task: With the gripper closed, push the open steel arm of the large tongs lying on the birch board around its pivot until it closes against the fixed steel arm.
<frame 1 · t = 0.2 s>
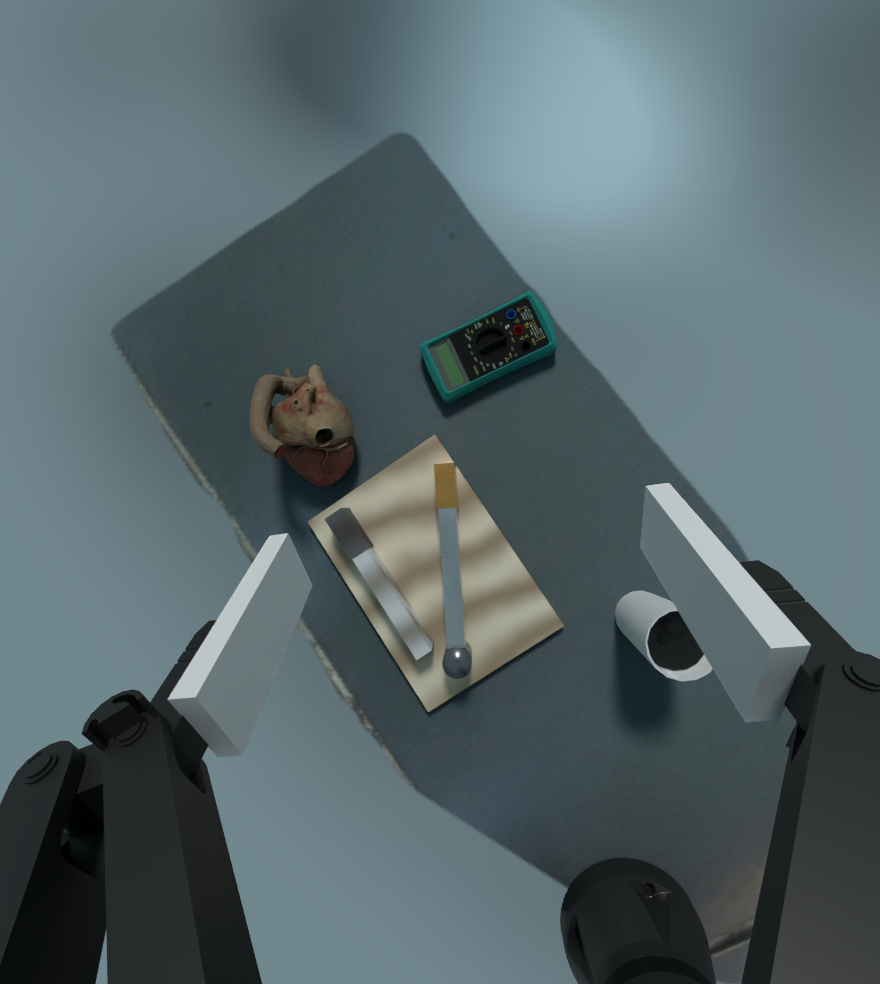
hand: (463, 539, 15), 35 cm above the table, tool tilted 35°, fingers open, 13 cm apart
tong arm: (451, 567, 47), point 3 cm above the table, hinge at -30.0°
anatomical model: (324, 426, 52), on the table
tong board: (432, 570, 50), on the table
digital multimeter: (487, 353, 51), on the table
white coffee cup: (639, 615, 48), on the table
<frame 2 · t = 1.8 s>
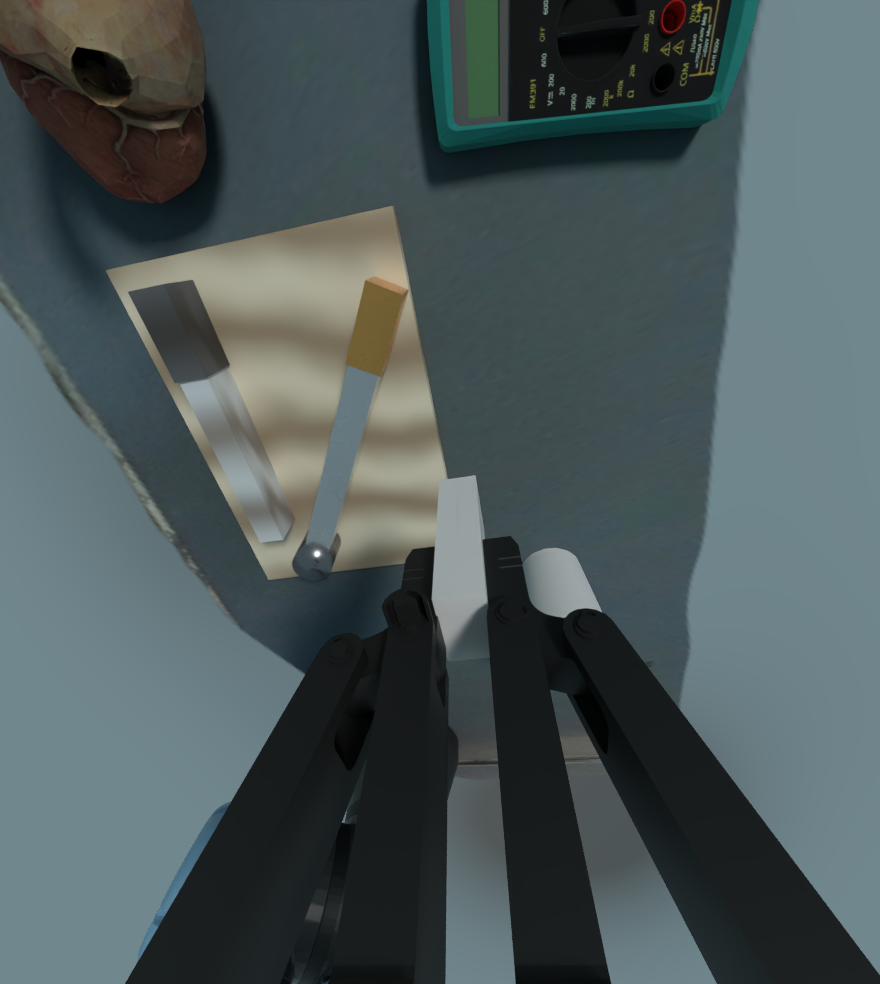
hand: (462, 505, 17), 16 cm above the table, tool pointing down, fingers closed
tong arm: (343, 452, 31), point 3 cm above the table, hinge at -30.0°
anatomical model: (148, 33, 22), on the table
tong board: (318, 433, 33), on the table
digital multimeter: (572, 51, 22), on the table
white coffee cup: (549, 569, 40), on the table
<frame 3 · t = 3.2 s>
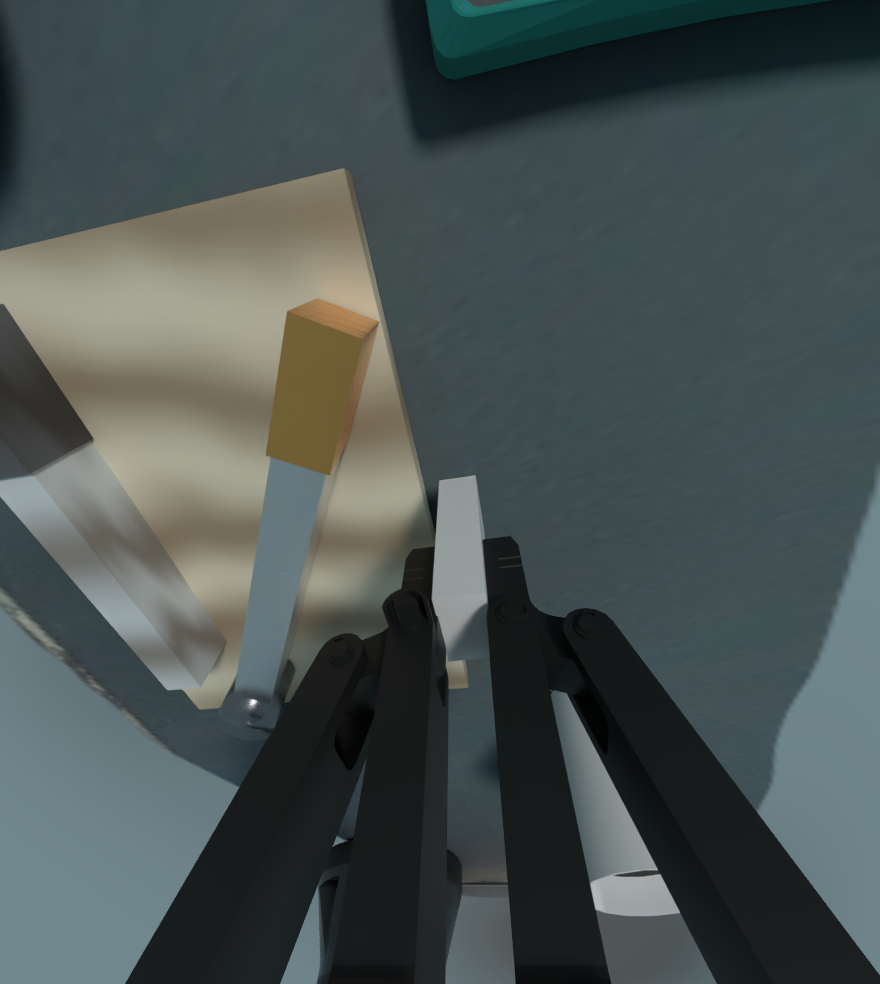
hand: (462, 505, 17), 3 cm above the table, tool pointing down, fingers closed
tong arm: (283, 573, 19), point 3 cm above the table, hinge at -30.0°
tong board: (252, 530, 22), on the table
white coffee cup: (590, 696, 29), on the table
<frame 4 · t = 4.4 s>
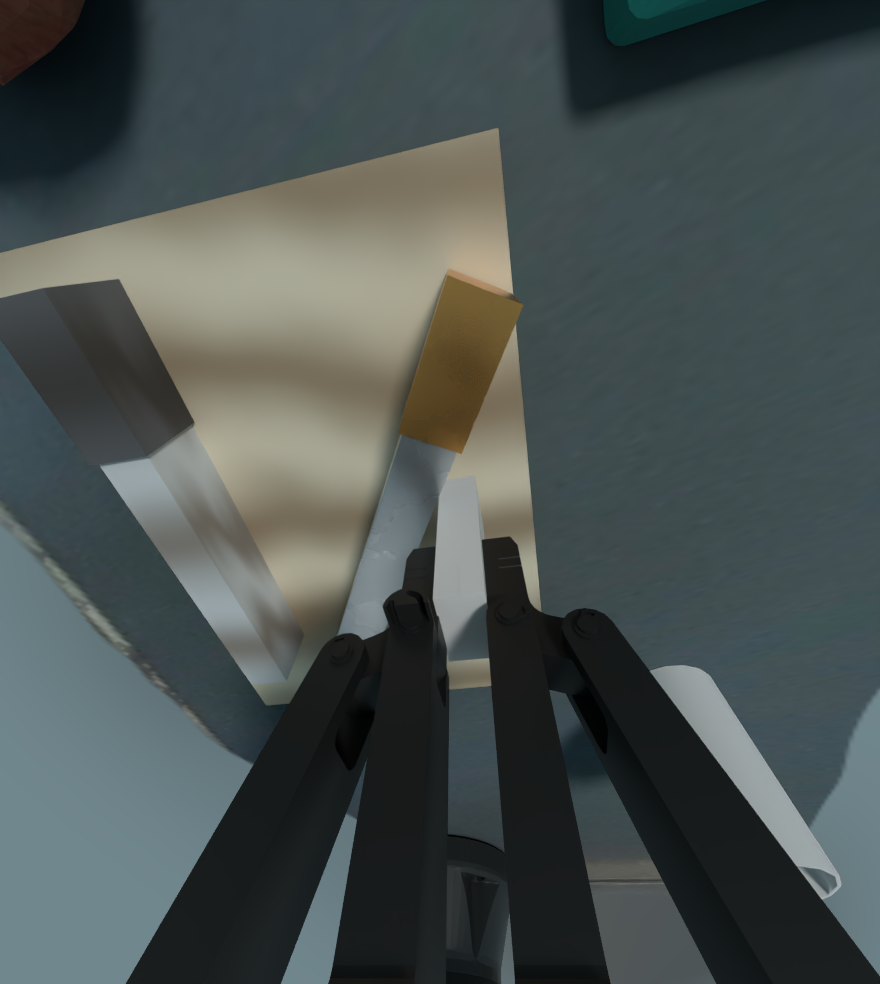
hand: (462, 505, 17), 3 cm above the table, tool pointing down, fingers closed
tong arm: (384, 561, 19), point 3 cm above the table, hinge at -29.7°, touching gripper
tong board: (341, 519, 21), on the table
white coffee cup: (666, 689, 28), on the table
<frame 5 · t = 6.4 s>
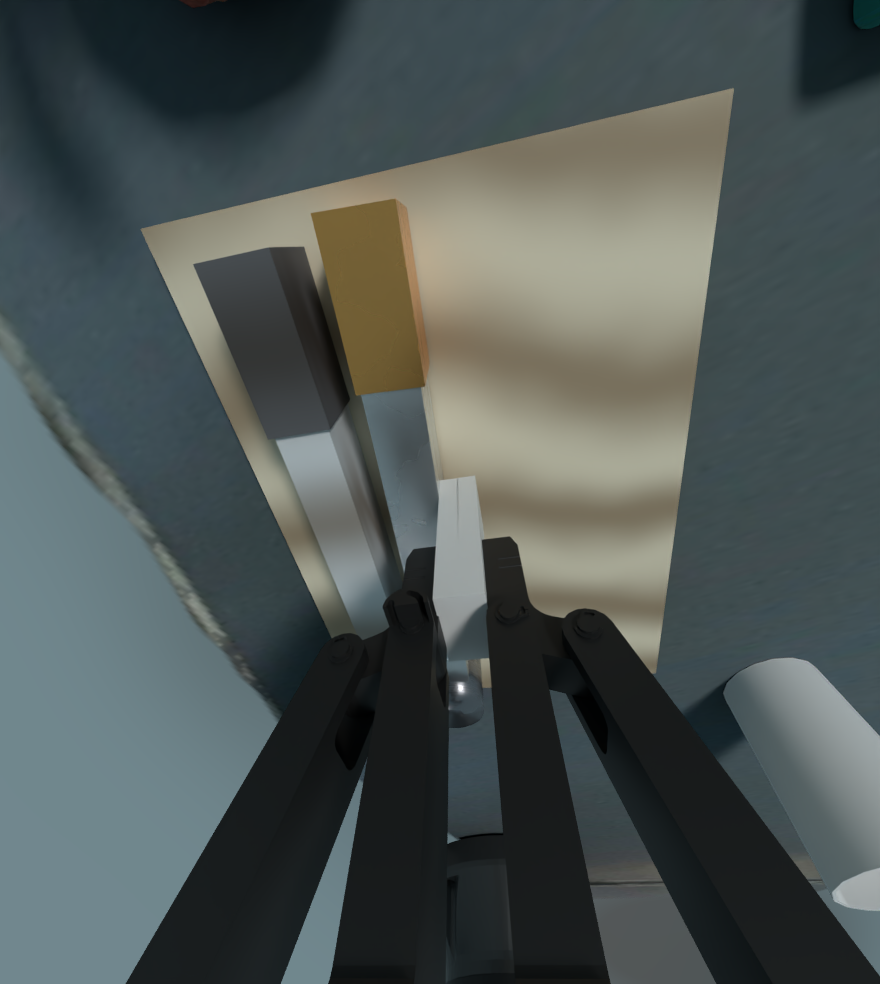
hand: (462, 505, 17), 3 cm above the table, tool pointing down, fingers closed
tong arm: (425, 534, 18), point 3 cm above the table, hinge at -2.5°, touching gripper
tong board: (471, 503, 21), on the table
white coffee cup: (767, 683, 28), on the table
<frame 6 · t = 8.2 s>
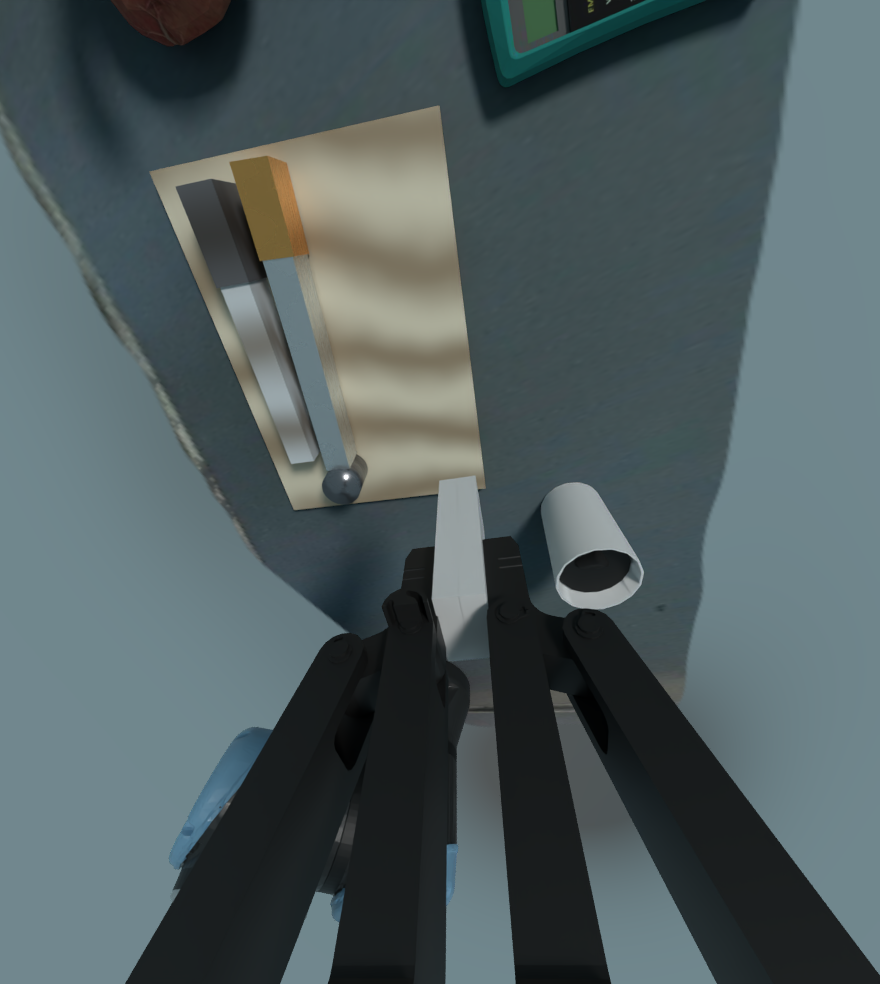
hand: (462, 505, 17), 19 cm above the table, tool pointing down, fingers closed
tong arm: (313, 361, 31), point 3 cm above the table, hinge at -2.5°
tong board: (351, 355, 34), on the table
white coffee cup: (569, 506, 41), on the table
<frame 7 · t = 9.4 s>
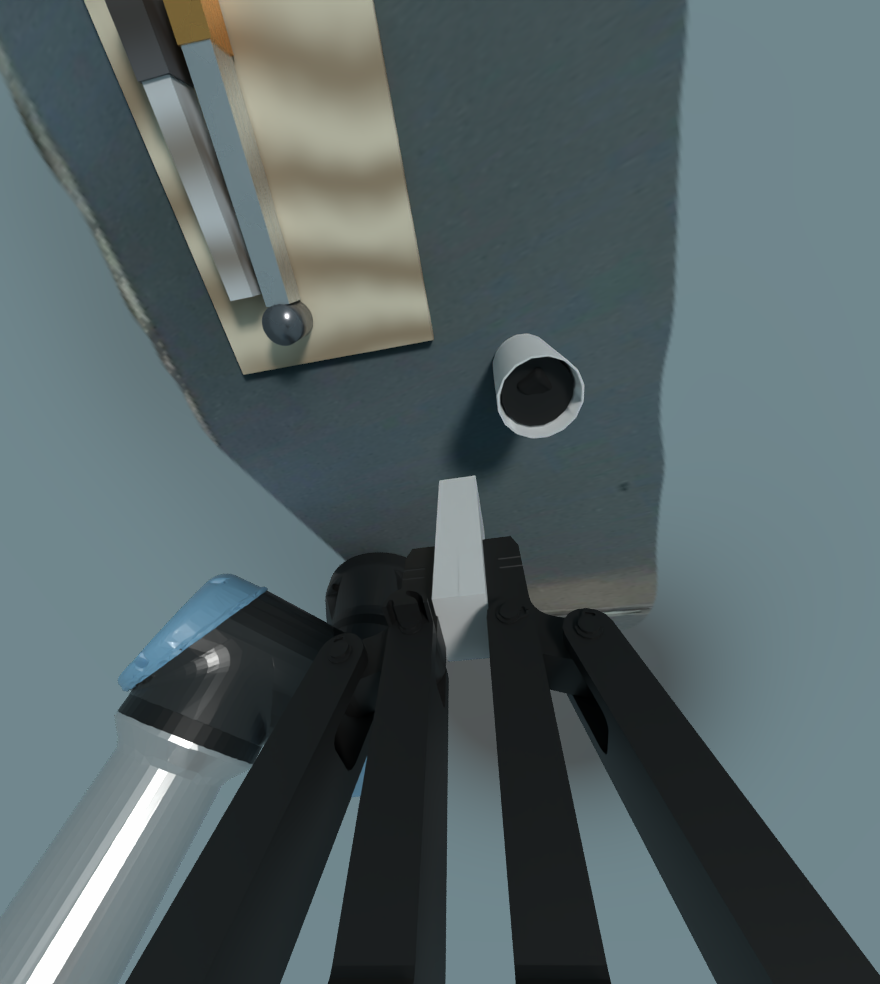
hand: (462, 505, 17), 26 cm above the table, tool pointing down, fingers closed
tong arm: (244, 177, 31), point 3 cm above the table, hinge at -2.5°
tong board: (287, 186, 33), on the table
white coffee cup: (521, 364, 40), on the table
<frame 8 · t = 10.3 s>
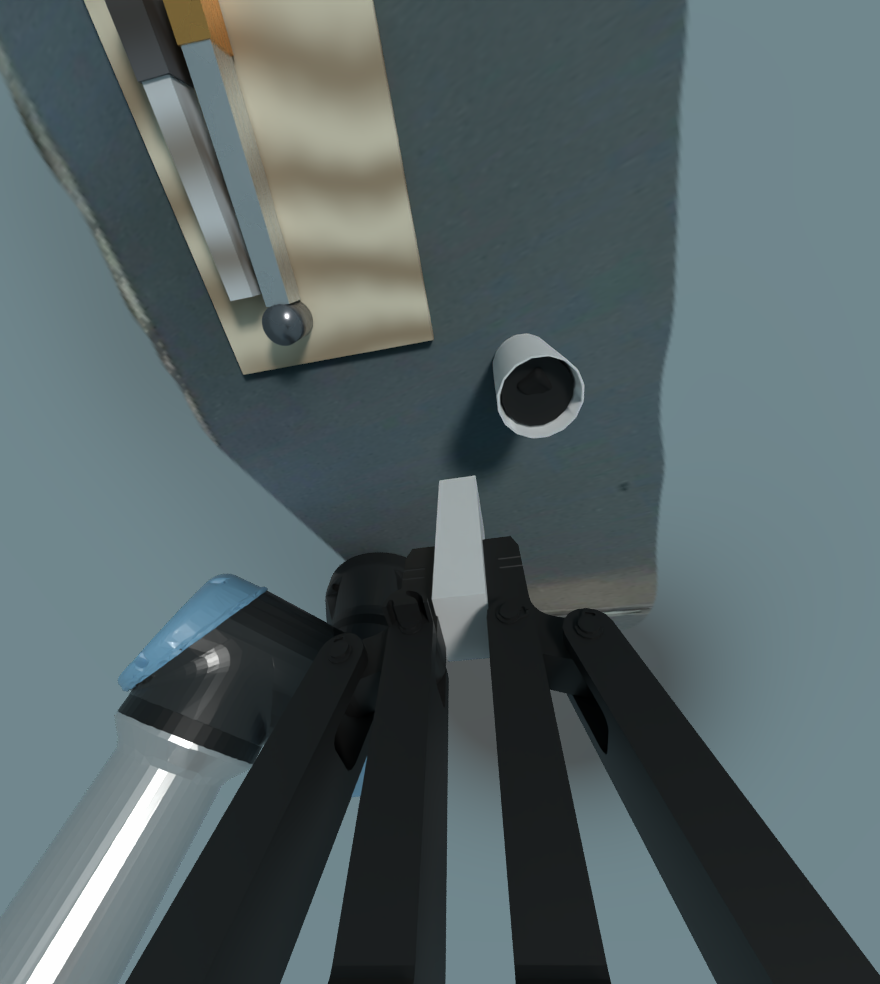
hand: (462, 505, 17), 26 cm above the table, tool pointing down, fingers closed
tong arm: (244, 177, 31), point 3 cm above the table, hinge at -2.5°
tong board: (287, 186, 33), on the table
white coffee cup: (521, 364, 40), on the table
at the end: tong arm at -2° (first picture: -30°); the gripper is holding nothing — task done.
